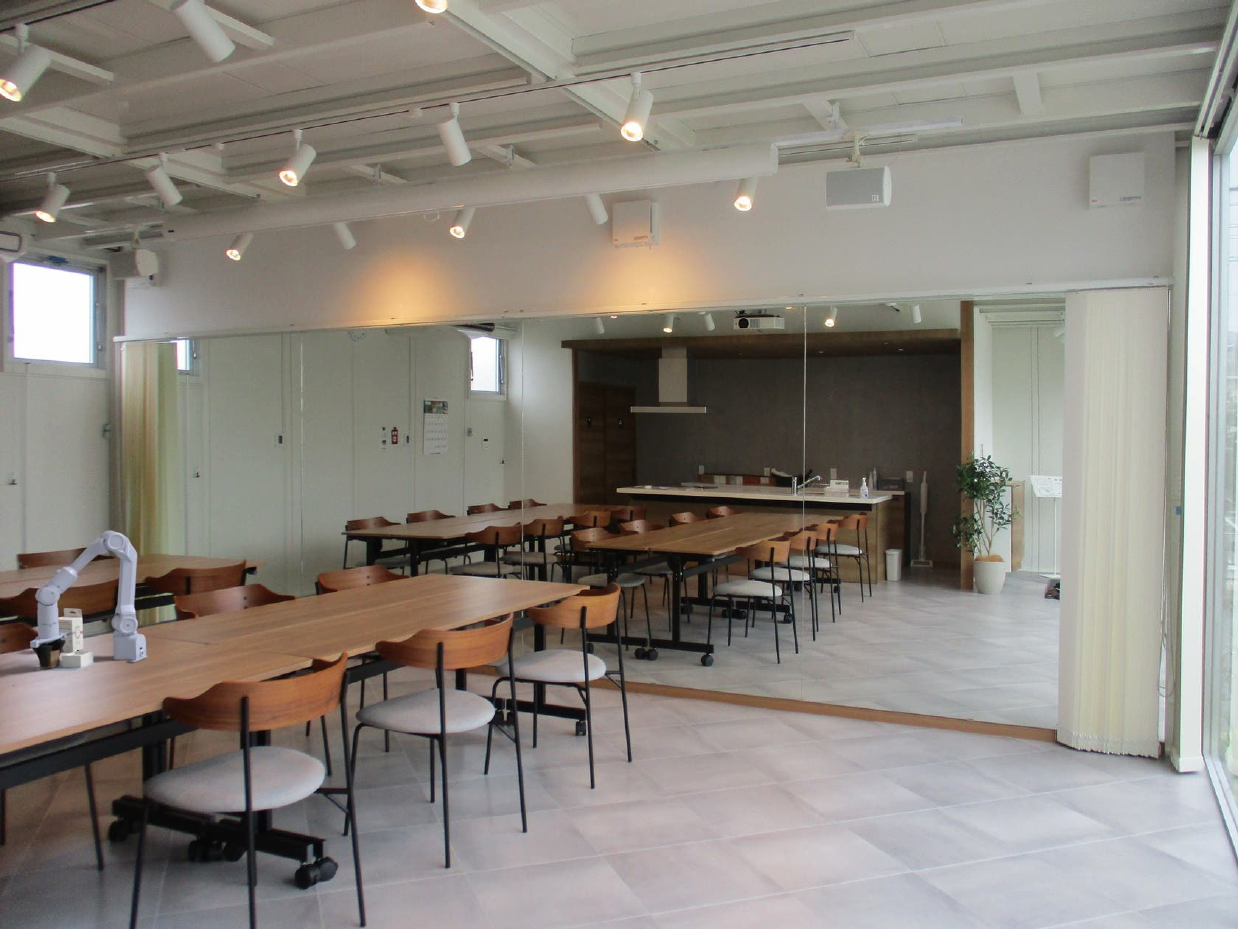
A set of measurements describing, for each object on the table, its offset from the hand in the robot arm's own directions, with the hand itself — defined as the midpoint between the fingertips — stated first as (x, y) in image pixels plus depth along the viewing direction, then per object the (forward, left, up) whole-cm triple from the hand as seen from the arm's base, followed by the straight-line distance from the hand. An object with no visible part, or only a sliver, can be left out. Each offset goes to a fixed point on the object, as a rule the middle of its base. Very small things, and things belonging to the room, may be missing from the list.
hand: (49, 665), depth 302 cm
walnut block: (0, 0, -1) cm, 1 cm away
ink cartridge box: (+14, -29, -2) cm, 33 cm away
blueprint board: (-4, -2, -2) cm, 5 cm away
